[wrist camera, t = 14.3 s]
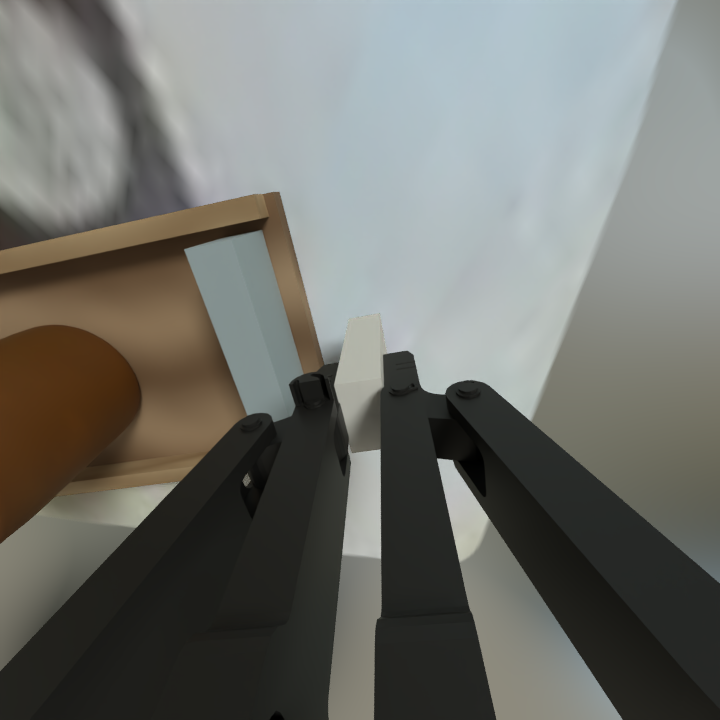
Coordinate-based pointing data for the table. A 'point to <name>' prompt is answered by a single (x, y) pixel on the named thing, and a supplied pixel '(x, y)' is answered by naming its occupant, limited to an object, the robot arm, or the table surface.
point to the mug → (56, 413)
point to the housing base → (154, 326)
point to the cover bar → (249, 320)
